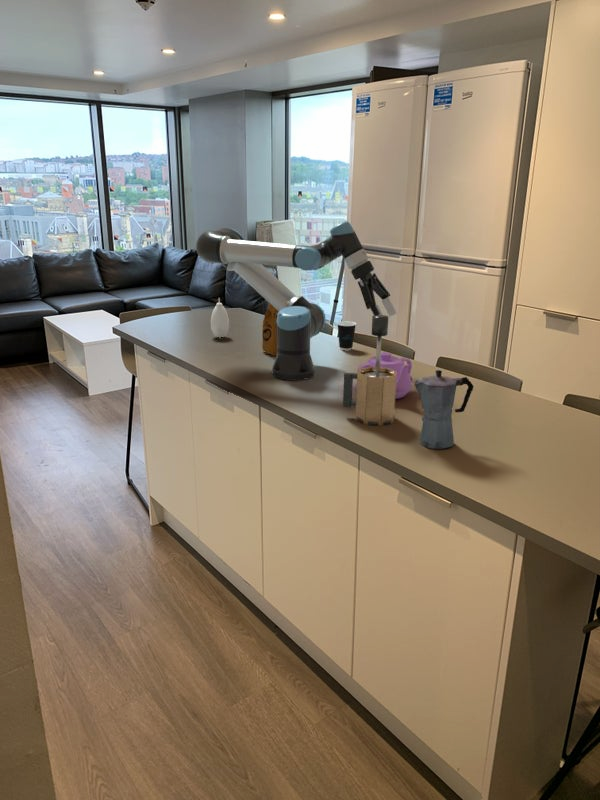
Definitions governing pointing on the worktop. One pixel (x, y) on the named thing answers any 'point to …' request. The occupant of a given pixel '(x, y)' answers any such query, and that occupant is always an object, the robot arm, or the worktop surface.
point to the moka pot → (439, 408)
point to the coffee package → (270, 330)
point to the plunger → (379, 341)
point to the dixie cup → (346, 334)
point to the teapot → (395, 364)
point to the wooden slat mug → (372, 396)
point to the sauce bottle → (219, 321)
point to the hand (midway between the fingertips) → (388, 319)
